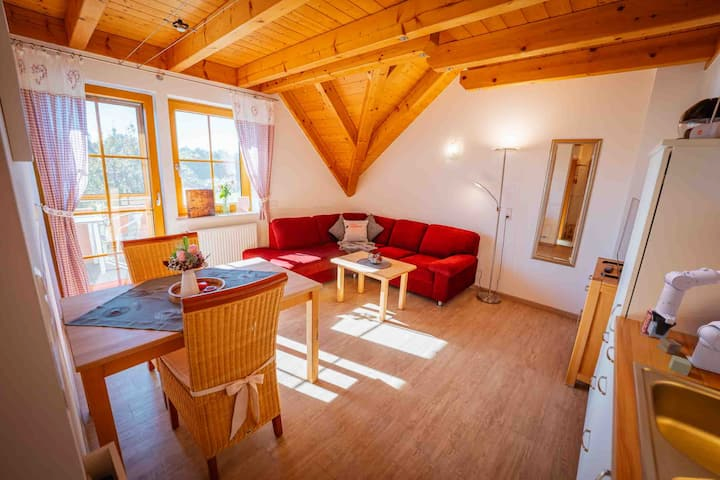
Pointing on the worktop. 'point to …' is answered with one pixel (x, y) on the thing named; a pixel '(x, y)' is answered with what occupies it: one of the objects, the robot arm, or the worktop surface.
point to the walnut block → (669, 346)
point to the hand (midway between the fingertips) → (657, 331)
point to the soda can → (646, 323)
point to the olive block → (680, 365)
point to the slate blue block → (653, 330)
